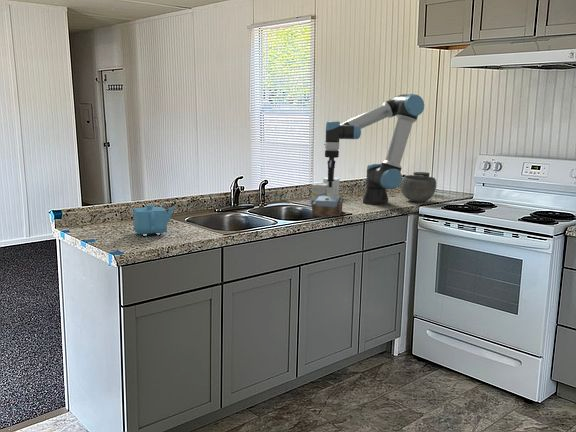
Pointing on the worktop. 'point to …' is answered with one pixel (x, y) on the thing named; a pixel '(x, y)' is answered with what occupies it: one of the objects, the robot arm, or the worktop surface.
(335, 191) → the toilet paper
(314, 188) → the ink box
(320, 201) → the cover plate
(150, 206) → the teapot
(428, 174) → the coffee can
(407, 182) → the bowl
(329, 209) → the walnut box
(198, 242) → the worktop surface
